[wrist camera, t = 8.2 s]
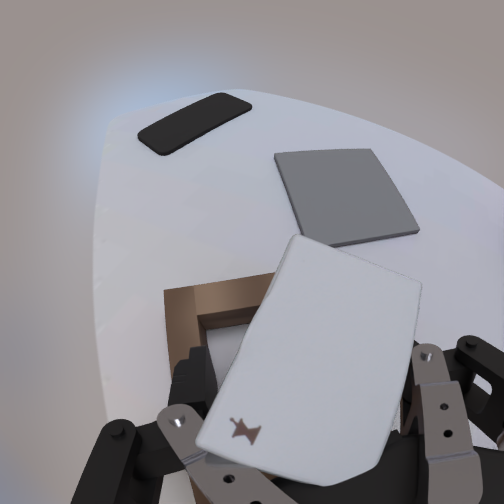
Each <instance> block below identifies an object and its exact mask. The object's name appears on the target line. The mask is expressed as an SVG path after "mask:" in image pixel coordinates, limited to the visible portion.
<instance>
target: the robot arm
mask: <svg viewBox="0 0 504 504" xmlns="http://www.w3.org/2000/svg"><path fill="white" fill-rule="evenodd" d="M476 374H478V375H479V376H481V377H482V378H483V379H485V380H486V381H488V382H489V383H490V384H491V386H492V393H491V395H489V394H488V393H486V392H485V391H484V390H483V389H481V388H480V387H479V386H477V385H476V384H475V383H473V381H474V379H475V376H476ZM217 394H218V392H217V380H216V375H215V371H214V367H213V364H212V360H211V356H210V353H209V349H208V346H207V345H203V346H196V347H190V351H189V359H183V360H180V361H179V362H178V363H177V365H176V366H175V367H174V372H173V377H172V384H171V389H170V394H169V400H168V407H166V408H164V409H163V410H162V411H161V412H160V413H159V415H158V417H157V421H155V422H152V423H149V424H145V425H142V426H138V427H135V425H134V424H133V423H132V422H131V421H129V420H125V419H117V420H113V421H111V422H109V423H107V424H106V425H105V426H104V427H103V428H102V430H101V432H100V434H99V437H98V439H97V441H96V443H95V446H94V448H93V450H92V452H91V455H90V457H89V459H88V461H87V464H86V466H85V468H84V471H83V473H82V476H81V478H80V481H79V483H78V486H77V488H76V491H75V493H74V496H73V498H72V501H71V504H159V499H160V493H161V488H162V483H163V477H164V475H167V474H170V473H174V472H177V471H181V470H184V469H185V470H186V471H187V473H188V474H189V476H190V477H191V478H192V480H193V481H194V482H195V484H196V485H197V486H198V488H199V489H200V490H201V492H202V493H203V494H204V495H205V497H206V498H207V499H208V500H209V502H210V503H211V504H504V352H502V351H500V350H499V349H497V348H496V347H494V346H492V345H491V344H489V343H487V342H486V341H484V340H482V339H480V338H479V337H476V336H472V335H467V336H463V337H461V338H460V339H459V340H458V341H457V345H456V348H455V349H450V350H445V351H442V350H441V349H440V348H439V347H438V346H436V345H433V344H419V343H417V342H416V341H415V340H414V343H413V348H412V353H411V358H410V363H409V367H408V372H407V376H406V380H405V384H404V388H403V392H402V396H401V400H400V433H399V432H398V430H397V429H396V430H394V431H391V432H390V434H389V437H388V440H387V442H386V445H385V447H384V450H383V452H382V455H381V457H380V460H379V462H378V463H377V465H376V466H375V467H373V468H372V469H370V470H368V471H366V472H364V473H362V474H359V475H357V476H355V477H352V478H350V479H347V480H345V481H342V482H340V483H337V484H334V485H330V486H319V485H314V484H306V483H301V482H297V481H293V480H289V479H285V478H282V477H276V478H273V479H271V480H269V479H267V478H266V477H265V476H264V475H263V474H262V473H261V472H260V471H258V470H257V469H256V468H255V467H250V466H246V465H242V464H238V463H235V462H233V461H230V460H227V459H225V458H222V457H220V456H217V455H215V454H213V453H210V452H208V451H205V450H203V449H201V448H198V447H197V446H196V444H195V439H196V437H197V435H198V433H199V431H200V429H201V427H202V424H203V422H204V420H205V418H206V416H207V414H208V412H209V410H210V408H211V406H212V404H213V402H214V400H215V398H216V396H217ZM468 419H469V420H470V421H471V422H472V423H473V424H475V425H476V426H477V427H478V428H479V429H480V430H481V431H482V432H484V433H485V434H486V435H487V436H488V437H489V438H490V439H491V440H493V441H494V442H495V443H496V444H497V447H498V450H494V449H488V448H482V447H477V446H473V445H472V438H471V433H470V427H469V422H468Z"/></svg>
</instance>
